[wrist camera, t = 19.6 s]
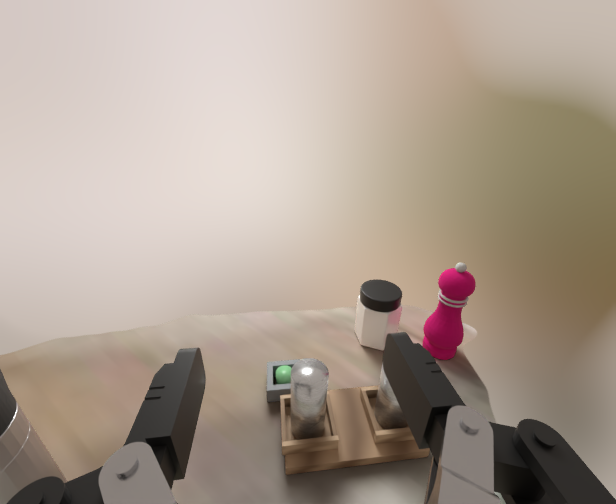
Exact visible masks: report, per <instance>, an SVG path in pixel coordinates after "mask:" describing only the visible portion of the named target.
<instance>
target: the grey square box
mask: <svg viewBox="0 0 616 504" xmlns="http://www.w3.org/2000/svg"><path fill="white" fill-rule="evenodd" d="M299 360H300V359H298V360H286V361H274V362H267V401H268V402H276V401H280V395H284V394H291V383H288V384H277V385H273V377H276V370H277V368H278V367H280V366H283V365H287V366H290V367H291V368H292V367H293V365H294V364H295V363H296V362H298V361H299Z"/></svg>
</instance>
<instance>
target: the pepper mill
mask: <svg viewBox="0 0 616 504" xmlns="http://www.w3.org/2000/svg"><path fill="white" fill-rule="evenodd" d="M438 284H439V287H440V290H439V294H438V299H439V304H438V307H437V309H436V310H435V312H434V313H433V314H432V315H431V316H430V317H429V318H428V319H427V321H426V322H425V325H424V334H425V336H424V339H423V347H424V348H425V349H426V350H428V351H429V352H430V354H431V355H432V356H433V357H435V358H438V359H442V360H448V359H451V358H453V357H454V355H455V353H456V349H457V346H458V345H460V344H461V342H462V340H463V335H464V334H463V325H462V321H461V311H462V308H463V307H464V306H466V304H467V301H468V296H470V295H471V294H472V293H473V292H474V290H475V279H474V277H473V276H472V275H471V274H470V273H469V272H467V271H466V265H465V264H464V263H458V264H457V265H456V266H455V268H451V269H448V270H445V271H444V272H443V273H442V274H441V276H440V278H439V282H438Z"/></svg>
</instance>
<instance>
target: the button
mask: <svg viewBox="0 0 616 504" xmlns="http://www.w3.org/2000/svg"><path fill="white" fill-rule="evenodd" d="M291 369H292V368H291V367H290V366H287V365H283V366H280V367H278V368H277V370H276V385H277V384H288V383H291Z"/></svg>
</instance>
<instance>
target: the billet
mask: <svg viewBox="0 0 616 504" xmlns="http://www.w3.org/2000/svg"><path fill="white" fill-rule="evenodd" d="M328 376H329V373H328V369H327V367H326V366H325V364H324V363H322V362H321V361H319V360H317V359H313V358H305V359H302V360H299V361H298V362H296V363H295V364H294V365H293V367H292V369H291V431H292V434H293V435H294V437H295V438H296V439H298V440H302V439H310V438H319V437H321V435H322V434H323V431H324V423H325V411H326V400H327V388H328Z"/></svg>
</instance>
